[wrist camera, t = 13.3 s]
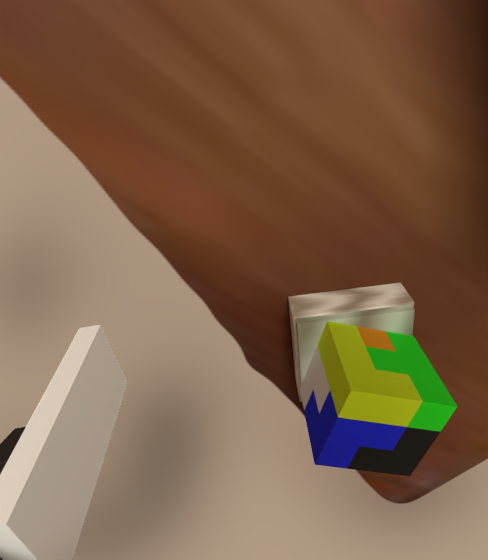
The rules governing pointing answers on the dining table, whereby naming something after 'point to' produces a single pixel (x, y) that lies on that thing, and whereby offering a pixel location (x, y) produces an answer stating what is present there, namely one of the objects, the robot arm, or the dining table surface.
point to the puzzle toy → (372, 400)
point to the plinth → (346, 317)
